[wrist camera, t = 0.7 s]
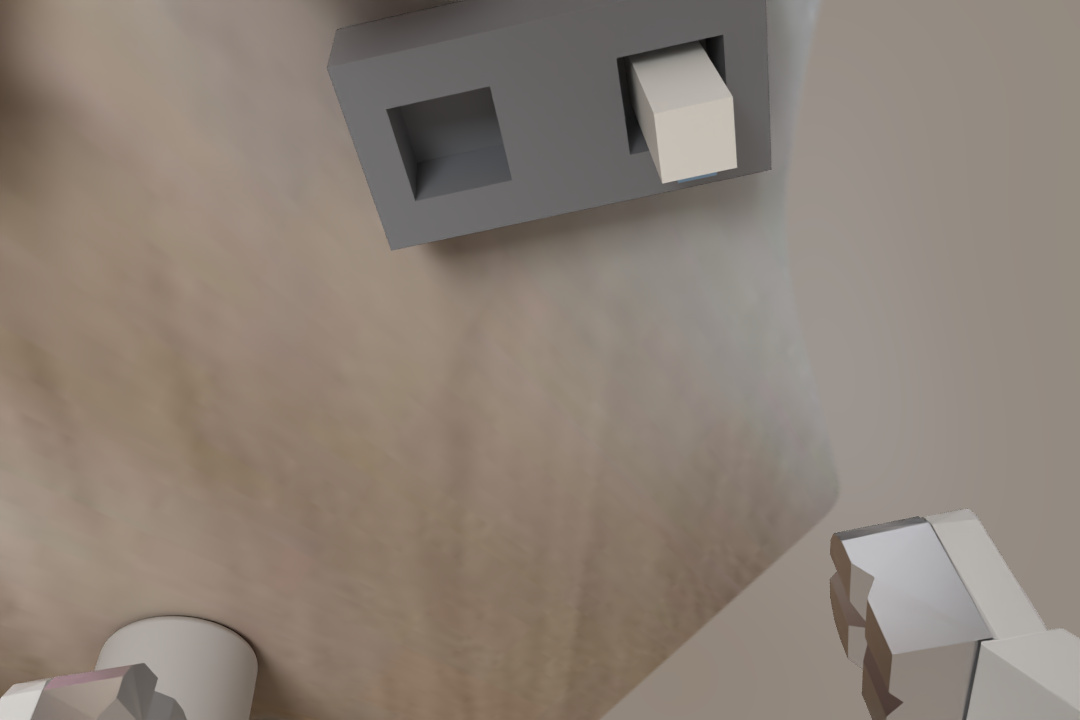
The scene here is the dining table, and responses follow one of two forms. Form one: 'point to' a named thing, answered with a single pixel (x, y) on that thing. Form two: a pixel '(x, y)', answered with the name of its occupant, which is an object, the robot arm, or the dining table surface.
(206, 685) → the cylinder vase
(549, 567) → the dining table surface
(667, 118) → the plug
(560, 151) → the socket block
